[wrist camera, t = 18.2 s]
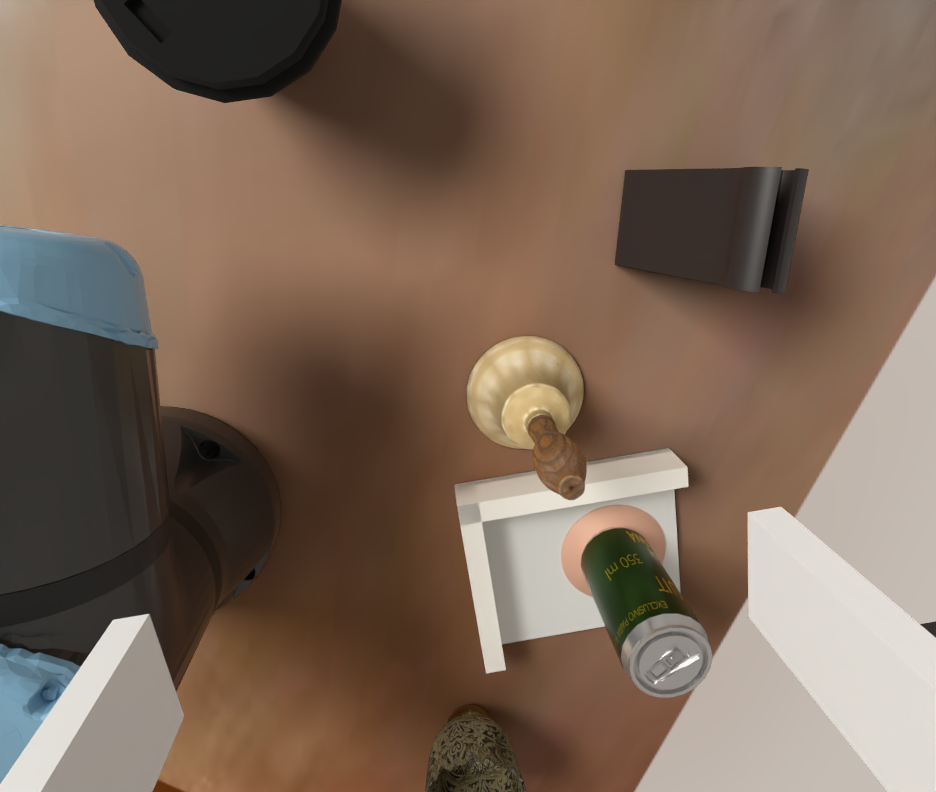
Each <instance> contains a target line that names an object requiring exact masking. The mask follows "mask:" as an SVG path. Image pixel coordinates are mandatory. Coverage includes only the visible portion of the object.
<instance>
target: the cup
mask: <svg viewBox="0 0 936 792" xmlns="http://www.w3.org/2000/svg"><path fill="white" fill-rule="evenodd" d="M425 792H526V789H525V785H524V782H523V778H522V775H521V771H520V768H519V765H518V762H517V758H516V755H515V752H514V749H513V747H512V744H511V742H510V740H509V738H508V736H507V734H506V732H505V731H504V730H503V728H502V727H501V726H500V725H499V724H498V723H496V722H495V721H494V720H492V719H490V717H489V715H488V714H487V713H486V711H485V710H484V709H482V708H481V707H478V706H475V705H464V706H461V707H459V708H457V709H456V710H455V711H453V713H452V714H451V715H450V717H449V719H448V722H447V724H445V725H444V726H443V728H442V729H441V730H440V731H439V733H438V734H437V736H436V738H435V740H434V742H433V745H432V749H431V753H430V758H429V764H428V771H427V780H426V788H425Z"/></svg>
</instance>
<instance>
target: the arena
mask: <svg viewBox="0 0 936 792" xmlns="http://www.w3.org/2000/svg"><path fill="white" fill-rule="evenodd" d="M586 467H587V472H586V479H585V490H584V493H583V494H582V495H581V496H580V497H579V498H577V499H575V500H567V499H564V498H563V497H562V496H561V495H559V494H556V493H555V492H553V491H551V490H549V489H548V488H547V487H546V486H545V485H544V484H543V483H542V482H541V480H540V479H539V477H538V475H537V473H536V471H530V472H524V473H518V474H512V475H506V476H501V477H495V478H489V479H483V480H477V481H471V482H465V483H459V484H454V486H455V494H456V503H457V509H458V515H459V521H460V527H461V532H462V538H463V544H464V550H465V555H466V561H467V567H468V573H469V578H470V584H471V590H472V595H473V601H474V607H475V613H476V618H477V624H478V630H479V636H480V641H481V647H482V653H483V659H484V664H485V670H486V673H492V672H498V671H503V670H506V667H505V661H504V655H503V649H502V644H506V643H512V642H518V641H524V640H529V639H535V638H541V637H546V636H552V635H558V634H564V633H569V632H575V631H581V630H586V629H592V628H598V627H604V626H605V625H604V622H603V620H602V618H601V615H600V613H599V611H598V608H597V606H596V603H595V601H594V599H593V596H592V594H591V592H590V589H589V587H588V585H587V582H586V580H585V578H584V575H583V572H582V568H581V557H582V553H583V550H584V548H585V546H586V544H587V542H588V541H589V540H590V538H591V537H592V536H593V535H594V534H596V533H598V532H599V531H601V530H603V529H606V528H610V527H624V528H627V529H630V530H634V531H636V532H638V533H639V534H640V535H642V536H643V537H644V538H645V539H646V541H647V542H648V544H649V545H650V547H651V548H652V550H653V552H654V553H655V555H656V556H657V558H658V559H659V561H660V562H661V564H662V565H663V567H664V569H665V570H666V572H667V573H668V575H669V576H670V578H671V579H672V581H673V582H674V584H675V586H676V587H677V589H678V590H679V592H680V576H679V559H678V543H677V526H676V509H675V493H674V489H678V488H684V487H689V486H688V467H687V466H686V465H685V464H684V463H683V462H682V461H681V460H680V459H679V458H678V457H677V456H676V455H675V454H674V453H673V452H672V451H671V450H670V448H666V449H660V450H654V451H648V452H642V453H636V454H630V455H625V456H619V457H613V458H607V459H601V460H595V461H589V462H586ZM680 593H681V592H680Z"/></svg>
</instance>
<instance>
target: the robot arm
mask: <svg viewBox="0 0 936 792" xmlns="http://www.w3.org/2000/svg"><path fill="white" fill-rule="evenodd" d="M158 348H159V347H158V340H157V339H156V337H155V336H154V335H153V334H152V332H151V325H150V319H149V313H148V306H147V300H146V294H145V287H144V281H143V276H142V273H141V270H140V268H139V266H138V264H137V262H136V261H135V260H134V258H133V257H132V256H131V255H130V254H129V253H128V252H127V251H126V250H124V249H123V248H122V247H120V246H119V245H117V244H115V243H113V242H111V241H108V240H106V239H102V238H97V237H92V236H87V235H80V234H73V233H65V232H57V231H49V230H41V229H33V228H24V227H16V226H7V225H0V792H152V791H153V789H154V787H155V784H156V782H157V780H158V777H159V775H160V772H161V770H162V768H163V765H164V763H165V761H166V758H167V756H168V754H169V751H170V749H171V747H172V744H173V742H174V739H175V737H176V735H177V732H178V730H179V728H180V725H181V723H182V721H183V718H184V714H183V711H182V708H181V705H180V702H179V699H178V696H177V693H176V691H177V689H178V687H179V685H180V683H181V680H182V678H183V676H184V674H185V672H186V670H187V668H188V666H189V664H190V661H191V659H192V657H193V655H194V653H195V651H196V649H197V647H198V645H199V642H200V640H201V638H202V636H203V634H204V632H205V630H206V628H207V626H208V623H209V621H210V619H211V617H212V615H213V614H215V613H216V612H217V611H218V610H220V609H221V608H222V607H223V606H225V605H226V604H227V603H229V602H230V601H231V600H232V599H234V598H235V597H236V596H238V595H239V594H240V593H241V592H243V591H244V590H245V589H246V588H247V587H248V586H249V585H250V584H251V583H252V582H253V581H254V580H255V578H256V577H257V576H258V574H259V573H260V572H261V570H262V569H263V567H264V566H265V564H266V562H267V560H268V558H269V555H270V553H271V551H272V548H273V546H274V543H275V541H276V538H277V535H278V532H279V527H280V520H281V503H280V496H279V492H278V488H277V485H276V482H275V479H274V477H273V474H272V472H271V470H270V468H269V467H268V465H267V463H266V462H265V460H264V459H263V457H262V456H261V454H260V453H259V452H258V451H257V450H256V448H255V447H254V446H253V445H252V444H251V443H250V442H249V441H248V440H247V439H246V438H244V437H243V436H242V435H241V434H240V433H238V432H237V431H235V430H234V429H233V428H231V427H230V426H228V425H226V424H225V423H223V422H221V421H219V420H217V419H215V418H213V417H210V416H208V415H205V414H202V413H199V412H196V411H192V410H188V409H183V408H177V407H163V406H160V398H159V388H158V377H157V367H156V357H155V349H158ZM748 617H749V618H750V620H751V621H752V622H753V623H754V625H755V626H756V627H757V628H758V630H759V631H760V632H761V634H762V635H763V636H764V637H765V639H766V640H767V641H768V642H769V643H770V645H771V646H772V647H773V649H774V650H775V651H776V652H777V653H778V655H779V656H780V657H781V658H782V660H783V661H784V662H785V664H786V665H787V666H788V667H789V669H790V670H791V671H792V672H793V674H794V675H795V676H796V677H797V679H798V680H799V681H800V682H801V684H802V685H803V686H804V687H805V689H806V690H807V691H808V692H809V694H810V695H811V696H812V697H813V699H814V700H815V701H816V702H817V704H818V705H819V706H820V708H821V709H822V710H823V711H824V712H825V714H826V715H827V716H828V718H829V719H830V720H831V721H832V722H833V724H834V725H835V726H836V727H837V729H838V730H839V731H840V733H841V734H842V735H843V736H844V738H845V739H846V740H847V741H848V743H849V744H850V745H851V746H852V748H853V749H854V750H855V751H856V753H857V754H858V755H859V756H860V758H861V759H862V760H863V761H864V763H865V764H866V765H867V766H868V768H869V769H870V770H871V771H872V773H873V774H874V775H875V776H876V778H877V779H878V780H879V782H880V783H881V784H882V785H883V787H884V788H885V789H886V790H887V792H936V622H931V623H925V624H919V623H918V622H917V621H915V620H914V619H913V618H912V617H911V616H909V615H908V614H907V613H906V612H905V611H904V610H902V609H901V608H900V607H899V606H897V605H896V604H895V603H894V602H893V601H892V600H891V599H889V598H888V597H887V596H886V595H885V594H883V593H882V592H881V591H880V590H879V589H878V588H876V587H875V586H874V585H873V584H872V583H871V582H869V581H868V580H867V579H866V578H865V577H863V576H862V575H861V574H860V573H858V571H856V570H855V569H854V568H853V567H852V566H851V565H849V564H848V563H847V562H846V561H845V560H843V559H842V558H841V557H840V556H839V555H838V554H836V553H835V552H834V551H833V550H832V549H830V548H829V547H828V546H827V545H826V544H825V543H823V542H822V541H821V540H820V539H819V538H818V537H816V536H815V535H814V534H813V533H812V532H810V531H809V530H808V529H807V528H806V527H805V526H803V525H802V524H801V523H800V522H799V521H797V520H796V519H795V518H794V517H793V516H792V515H790V514H789V513H788V512H787V511H786V510H784V509H783V508H782V507H777V508H771V509H765V510H759V511H753V512H748Z"/></svg>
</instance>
